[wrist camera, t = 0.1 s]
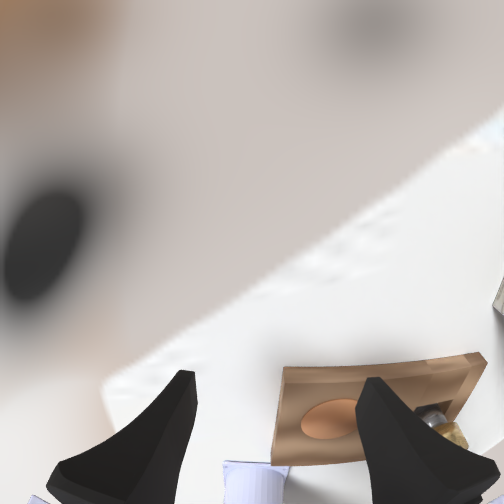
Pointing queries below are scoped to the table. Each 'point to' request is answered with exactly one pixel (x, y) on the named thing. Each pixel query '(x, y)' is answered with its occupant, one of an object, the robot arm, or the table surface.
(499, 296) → the coffee box
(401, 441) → the robot arm
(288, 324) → the table surface
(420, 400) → the board
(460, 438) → the gold rounded piece
